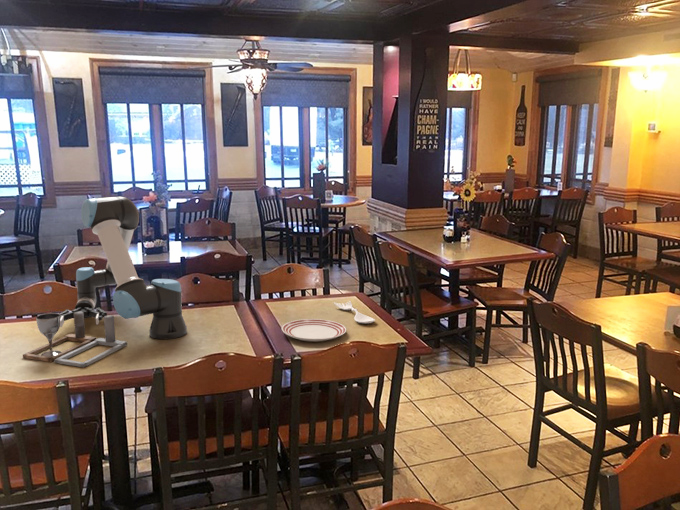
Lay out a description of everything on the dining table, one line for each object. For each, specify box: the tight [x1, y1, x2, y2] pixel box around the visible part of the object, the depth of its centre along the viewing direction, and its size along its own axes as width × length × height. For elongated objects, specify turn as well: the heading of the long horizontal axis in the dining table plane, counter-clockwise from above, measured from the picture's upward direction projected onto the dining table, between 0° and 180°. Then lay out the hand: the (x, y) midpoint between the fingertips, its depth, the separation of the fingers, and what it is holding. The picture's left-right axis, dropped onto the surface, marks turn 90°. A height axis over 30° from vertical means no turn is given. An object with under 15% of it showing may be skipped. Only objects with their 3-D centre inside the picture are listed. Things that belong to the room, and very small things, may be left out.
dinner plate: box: [281, 318, 347, 343], centre depth 247 cm, size 28×27×3 cm
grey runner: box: [53, 314, 128, 368], centre depth 221 cm, size 13×24×12 cm, turn 163°
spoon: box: [333, 300, 376, 324], centre depth 274 cm, size 9×32×4 cm, turn 23°
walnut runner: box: [22, 312, 97, 363], centre depth 225 cm, size 13×24×12 cm, turn 163°
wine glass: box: [35, 312, 62, 357], centre depth 220 cm, size 8×8×15 cm
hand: (78, 322), depth 236 cm, fingers open, 13 cm apart
